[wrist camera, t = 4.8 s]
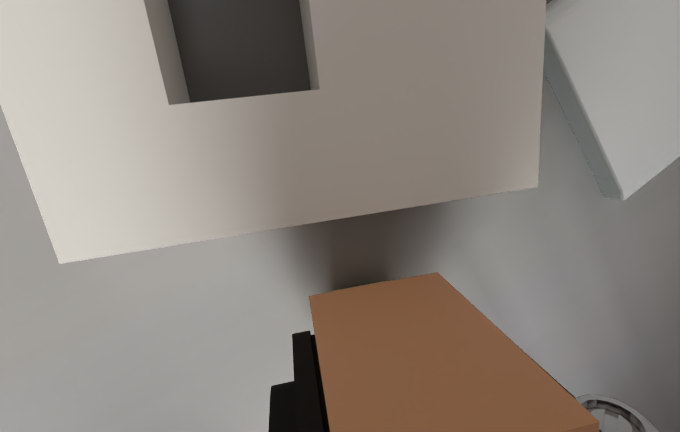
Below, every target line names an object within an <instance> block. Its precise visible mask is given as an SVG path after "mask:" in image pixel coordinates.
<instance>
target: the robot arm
mask: <svg viewBox="0 0 680 432" xmlns="http://www.w3.org/2000/svg"><path fill="white" fill-rule="evenodd" d="M292 339H293V362H294V381H292V382H288V383H283V384H279V385H274V386H272V387H271V395H270V415H269V432H330V428H329V421H328V415H327V409H326V402H325V396H324V390H323V383H322V377H321V370H320V364H319V358H318V351H317V345H316V339H315V335H311V334H310V331H305V332H300V333H295V334H292ZM521 350H522V349H521ZM530 358H531V357H530ZM531 359H532V358H531ZM532 360H533V359H532ZM533 361H534V360H533ZM534 362H535V361H534ZM540 367H541V366H540ZM541 368H542V367H541ZM542 369H543V368H542ZM543 370H544V369H543ZM544 371H545V370H544ZM545 372H546V371H545ZM546 373H547V372H546ZM550 376H551V375H550ZM551 377H552V376H551ZM552 378H553V377H552ZM553 379H554V378H553ZM554 380H555V379H554ZM555 381H556V380H555ZM556 382H557V381H556ZM557 383H558V382H557ZM558 384H559V383H558ZM559 385H561V384H559ZM561 386H562V385H561ZM562 387H563V386H562ZM563 388H564V387H563ZM564 389H565V388H564ZM565 390H566V389H565ZM566 391H567V390H566ZM567 392H568V391H567ZM568 393H569V392H568ZM569 394H570V395H571V396H573V395H572V394H571V393H569ZM573 397H574V396H573ZM574 398H575V397H574ZM575 399H576V400H577V401H578V402H579V403H580V404H581V405H582V406H583V407H584V408H586V409H587V410H588V411H589V412H590V413H591V414H592V415H593V416H594V417H595V418H596V419H598V420H599V421H600V425H599V432H659V431H658V430H657V429H656V428H655V427H654V426H653V425H652V424H651V423H650V422H649V421H648V420H647V419H646V418H645V417H644V416H643V415H641V414H640V413H639V412H638V411H636V410H635V409H633V408H632V407H630V406H628V405H626V404H625V403H623V402H620V401H618V400H615V399H613V398H610V397H606V396H601V395H588V394H587V395H583V396H579V397H577V398H575Z"/></svg>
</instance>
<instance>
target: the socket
mask: <svg viewBox="0 0 680 432" xmlns="http://www.w3.org/2000/svg"><path fill="white" fill-rule="evenodd" d="M545 19H546V0H0V105H1V107H2V110H3V113H4V115H5V118H6V121H7V123H8V126H9V129H10V132H11V134H12V137H13V140H14V142H15V145H16V148H17V150H18V153H19V156H20V159H21V161H22V164H23V167H24V169H25V172H26V175H27V177H28V180H29V183H30V186H31V188H32V191H33V194H34V196H35V199H36V202H37V204H38V207H39V210H40V213H41V215H42V218H43V221H44V223H45V226H46V229H47V231H48V234H49V237H50V240H51V242H52V245H53V248H54V250H55V253H56V256H57V258H58V261H59V264H61V263H67V262H74V261H80V260H86V259H92V258H98V257H105V256H111V255H117V254H123V253H130V252H136V251H142V250H148V249H155V248H161V247H167V246H173V245H179V244H186V243H192V242H198V241H204V240H211V239H217V238H223V237H229V236H236V235H242V234H248V233H254V232H260V231H267V230H273V229H279V228H285V227H292V226H298V225H304V224H310V223H317V222H323V221H329V220H335V219H341V218H348V217H354V216H360V215H366V214H373V213H379V212H385V211H391V210H398V209H404V208H410V207H416V206H422V205H429V204H435V203H441V202H447V201H454V200H460V199H466V198H472V197H479V196H485V195H491V194H497V193H503V192H510V191H516V190H522V189H528V188H535V187H538V174H539V152H540V130H541V108H542V86H543V64H544V41H545Z"/></svg>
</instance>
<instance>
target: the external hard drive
mask: <svg viewBox="0 0 680 432" xmlns="http://www.w3.org/2000/svg"><path fill="white" fill-rule="evenodd" d="M543 70H544V72H545V74H546V76H547V79H548V81H549V83H550V85H551V87H552V89H553V91H554V93H555V95H556V97H557V99H558V101H559V103H560V105H561V108H562V110H563V112H564V114H565V116H566V118H567V120H568V122H569V124H570V126H571V128H572V130H573V132H574V134H575V136H576V139H577V141H578V143H579V145H580V147H581V149H582V151H583V153H584V155H585V157H586V159H587V161H588V164H589V166H590V168H591V170H592V172H593V174H594V176H595V178H596V180H597V182H598V184H599V186H600V189H601V191H602V193H603V195H604V197H605V198H610V199H616V200H620V201H623V200H626V199H627V198H628V197H629V196H631V195H632V194H633V193H634V192H636V191H637V190H638V189H639V188H641V187H642V186H643V185H645V184H646V183H647V182H648V181H650V180H651V179H652V178H653V177H655V176H656V175H657V174H658V173H660V172H661V171H662V170H663V169H665V168H666V167H667V166H668V165H669V164H671V163H672V162H673V161H674V160H676V159H677V158H678V157H679V156H680V0H552V1H550V2H549V3H548V4H547V5H546V19H545V41H544V64H543Z"/></svg>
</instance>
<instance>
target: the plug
mask: <svg viewBox="0 0 680 432" xmlns="http://www.w3.org/2000/svg"><path fill="white" fill-rule="evenodd" d="M309 300H310V307H311V313H312V319H313V326H314V332H315V339H316V345H317V351H318V358H319V364H320V370H321V377H322V383H323V390H324V396H325V402H326V409H327V415H328V421H329V428H330V432H599V425H600V421H599V420H598V419H596V418H595V417H594V416H593V415H592V414H591V413H590V412H589V411H588V410H587V409H586V408H584V407H583V406H582V405H581V404H580V403H579V402H578V401H577V400H576V399H575V398H574V397H573V396H571V395H570V394H569V393H568V392H567V391H566V390H565V389H564V388H563V387H562V386H561V385H559V384H558V383H557V382H556V381H555V380H554V379H553V378H552V377H551V376H550V375H549V374H548V373H546V372H545V371H544V370H543V369H542V368H541V367H540V366H539V365H538V364H537V363H536V362H534V361H533V360H532V359H531V358H530V357H529V356H528V355H527V354H526V353H525V352H524V351H523V350H521V349H520V348H519V347H518V346H517V345H516V344H515V343H514V342H513V341H512V340H511V339H509V338H508V337H507V336H506V335H505V334H504V333H503V332H502V331H501V330H500V329H499V328H498V327H496V326H495V325H494V324H493V323H492V322H491V321H490V320H489V319H488V318H487V317H486V316H484V315H483V314H482V313H481V312H480V311H479V310H478V309H477V308H476V307H475V306H474V305H473V304H471V303H470V302H469V301H468V300H467V299H466V298H465V297H464V296H463V295H462V294H461V293H459V292H458V291H457V290H456V289H455V288H454V287H453V286H452V285H451V284H450V283H449V282H448V281H446V280H445V279H444V278H443V277H442V276H441V275H440V274H439V273H438V272H436V273H431V274H426V275H420V276H415V277H409V278H404V279H399V280H393V281H391V280H388V281H383V282H378V283H372V284H367V285H361V286H356V287H351V288H345V289H340V290H334V291H330V292H329V293H323V294H318V295H312V296H309Z"/></svg>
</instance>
